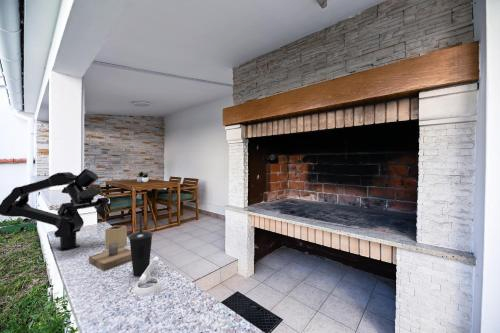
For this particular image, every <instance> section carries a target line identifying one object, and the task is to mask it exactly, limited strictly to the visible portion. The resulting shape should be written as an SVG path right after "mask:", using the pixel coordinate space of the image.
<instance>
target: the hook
mask: <svg viewBox="0 0 500 333" xmlns="http://www.w3.org/2000/svg"><path fill="white" fill-rule="evenodd" d="M159 260H160V258H159V256H157V255H155V256H154V258H153V259H152V260H151V261H150V264H149V266H148V267H147V269H146V270H145V272H144V273H143V274H142V276H141V277H138V282H136V283H135V286H134V288H133V293H134V294H135V295H137V296H147V295H150V294H154V293H155V292H157V291H158V290H159V289H160V288H161V286H162V284H161V282H160V279H159V278H157V277H153V276H152V275H151V273H152V271H153V270H154V268H155V266H156V265H157V264H158V262H159ZM151 282H152V283H155V284H153V285H151V286H148V287H140V286H141V285H145V284H146V283H151Z"/></svg>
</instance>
